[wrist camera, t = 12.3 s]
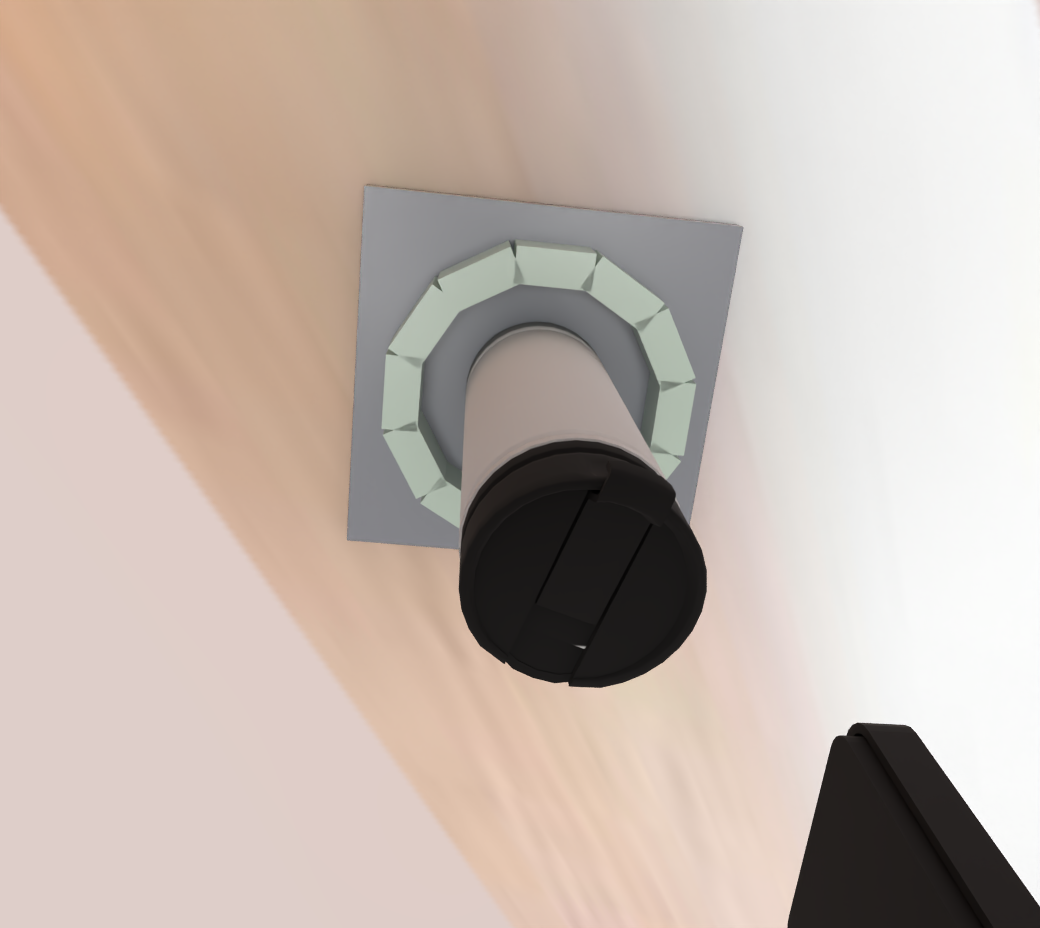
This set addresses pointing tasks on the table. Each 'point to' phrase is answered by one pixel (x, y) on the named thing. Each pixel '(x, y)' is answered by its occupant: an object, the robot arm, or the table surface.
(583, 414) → the travel mug
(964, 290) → the table surface
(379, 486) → the cup dock
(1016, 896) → the robot arm
